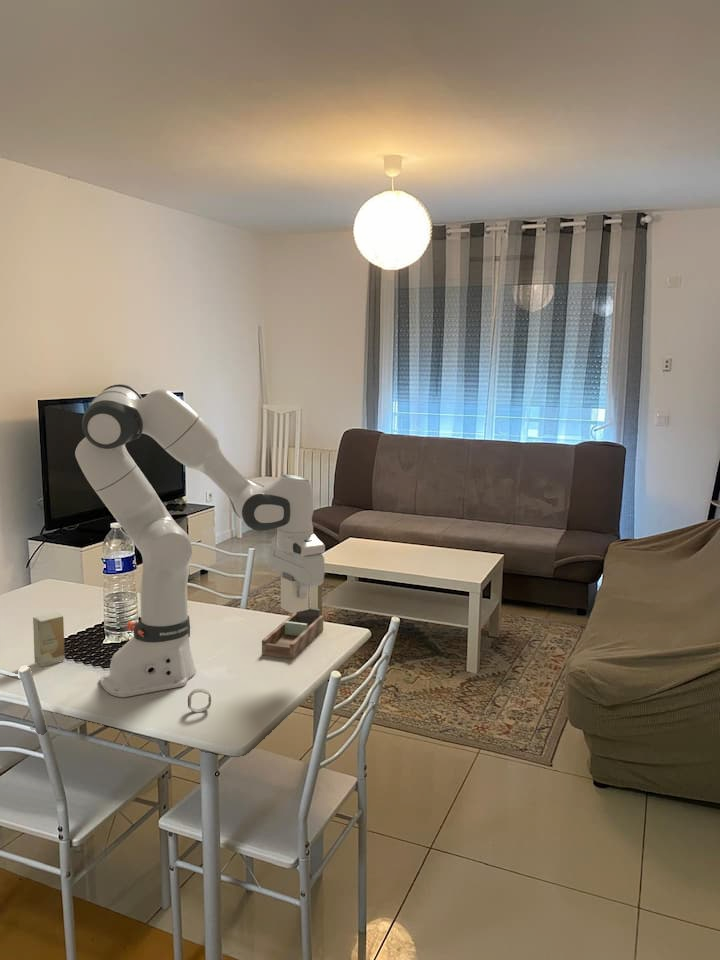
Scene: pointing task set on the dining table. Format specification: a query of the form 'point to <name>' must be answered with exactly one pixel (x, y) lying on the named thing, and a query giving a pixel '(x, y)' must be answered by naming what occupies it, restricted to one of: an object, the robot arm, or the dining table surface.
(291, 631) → the plate
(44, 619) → the skincare box
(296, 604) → the cream rectangular box
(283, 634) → the pusher lane
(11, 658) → the dining table surface
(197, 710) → the grey ring
